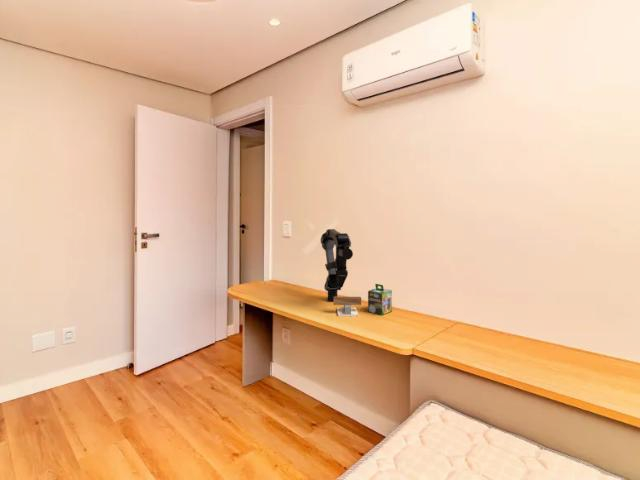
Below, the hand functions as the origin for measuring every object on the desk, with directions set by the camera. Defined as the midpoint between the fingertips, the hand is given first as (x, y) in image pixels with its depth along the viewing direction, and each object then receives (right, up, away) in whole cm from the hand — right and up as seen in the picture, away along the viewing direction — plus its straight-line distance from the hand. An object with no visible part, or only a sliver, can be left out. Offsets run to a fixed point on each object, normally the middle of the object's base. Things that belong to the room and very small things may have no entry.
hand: (340, 285), depth 190 cm
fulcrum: (+3, -13, -9) cm, 16 cm away
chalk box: (+20, -13, -7) cm, 25 cm away
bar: (+3, -8, -9) cm, 13 cm away
